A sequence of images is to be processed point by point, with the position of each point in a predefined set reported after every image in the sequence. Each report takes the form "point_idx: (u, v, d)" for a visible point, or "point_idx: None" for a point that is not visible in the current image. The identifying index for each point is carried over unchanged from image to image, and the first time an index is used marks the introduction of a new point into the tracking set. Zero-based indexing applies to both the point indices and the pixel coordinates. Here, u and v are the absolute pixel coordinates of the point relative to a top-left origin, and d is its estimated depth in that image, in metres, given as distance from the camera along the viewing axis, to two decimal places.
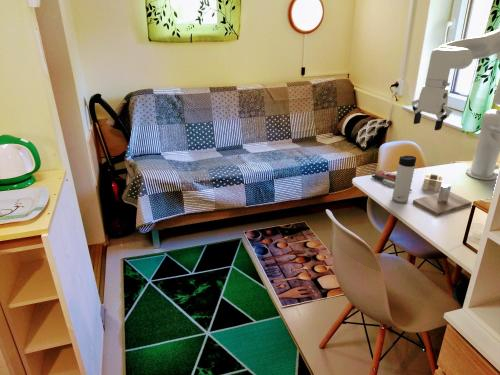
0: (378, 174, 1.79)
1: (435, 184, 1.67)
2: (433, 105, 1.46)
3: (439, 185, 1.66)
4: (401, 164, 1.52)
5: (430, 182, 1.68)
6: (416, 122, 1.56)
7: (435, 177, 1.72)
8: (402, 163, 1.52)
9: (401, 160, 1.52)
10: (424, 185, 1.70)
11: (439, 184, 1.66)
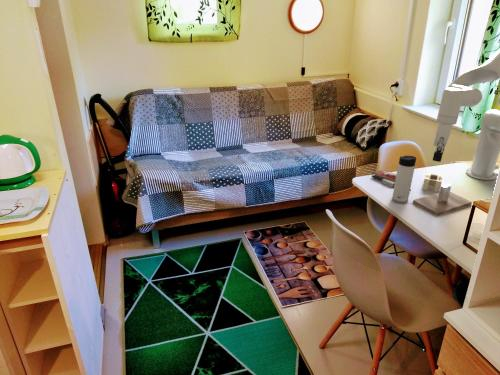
0: (378, 174, 1.79)
1: (435, 184, 1.67)
2: None
3: (439, 185, 1.66)
4: (401, 164, 1.52)
5: (430, 182, 1.68)
6: None
7: (435, 177, 1.72)
8: (402, 163, 1.52)
9: (401, 160, 1.52)
10: (424, 185, 1.70)
11: (439, 184, 1.66)
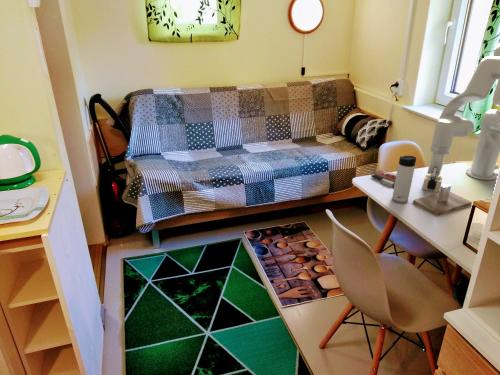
0: (377, 174, 1.79)
1: None
2: None
3: (439, 185, 1.66)
4: (401, 164, 1.52)
5: None
6: None
7: (435, 177, 1.72)
8: (402, 163, 1.52)
9: (401, 160, 1.52)
10: (424, 185, 1.70)
11: (439, 184, 1.66)
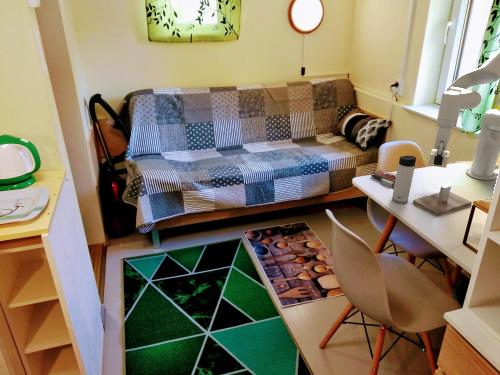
0: (377, 174, 1.79)
1: None
2: None
3: (446, 160, 1.62)
4: (401, 164, 1.52)
5: None
6: None
7: None
8: (402, 163, 1.52)
9: (401, 160, 1.52)
10: (430, 161, 1.65)
11: (446, 159, 1.61)
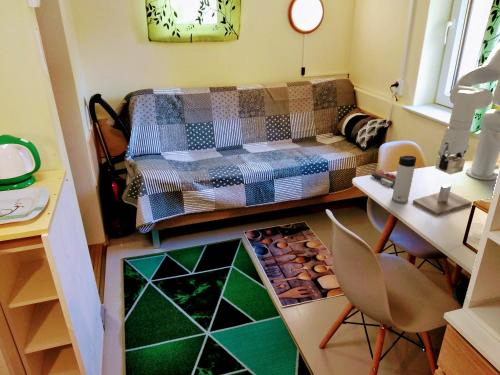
0: (377, 173, 1.80)
1: None
2: (465, 144, 1.46)
3: (451, 166, 1.47)
4: (401, 164, 1.52)
5: None
6: None
7: None
8: (402, 163, 1.52)
9: (401, 160, 1.52)
10: (437, 164, 1.52)
11: (451, 165, 1.47)
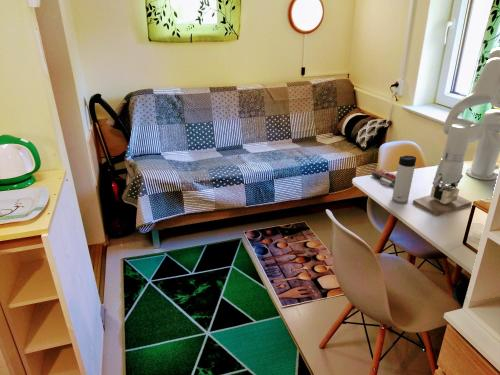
0: (378, 173, 1.80)
1: None
2: (458, 175, 1.51)
3: (445, 196, 1.52)
4: (401, 164, 1.52)
5: None
6: None
7: None
8: (402, 163, 1.52)
9: (401, 160, 1.52)
10: (432, 193, 1.57)
11: (445, 195, 1.51)
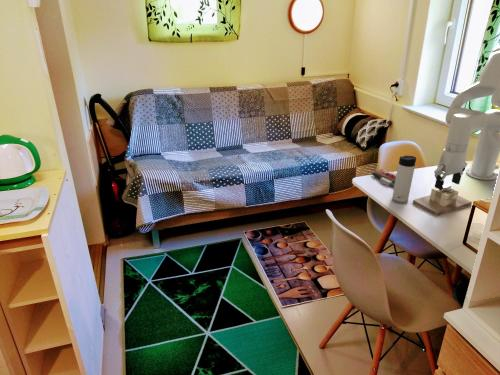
0: (378, 172, 1.80)
1: (441, 197, 1.53)
2: (461, 165, 1.49)
3: (444, 198, 1.52)
4: (401, 164, 1.52)
5: (436, 193, 1.55)
6: None
7: None
8: (402, 163, 1.52)
9: (401, 160, 1.52)
10: (431, 195, 1.57)
11: (444, 197, 1.52)
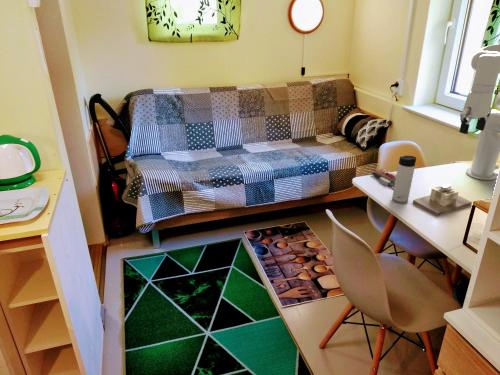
0: (378, 172, 1.81)
1: (441, 197, 1.53)
2: (487, 109, 1.49)
3: (444, 198, 1.52)
4: (401, 164, 1.52)
5: (436, 193, 1.55)
6: None
7: None
8: (402, 163, 1.52)
9: (401, 160, 1.52)
10: (431, 195, 1.57)
11: (444, 197, 1.52)
